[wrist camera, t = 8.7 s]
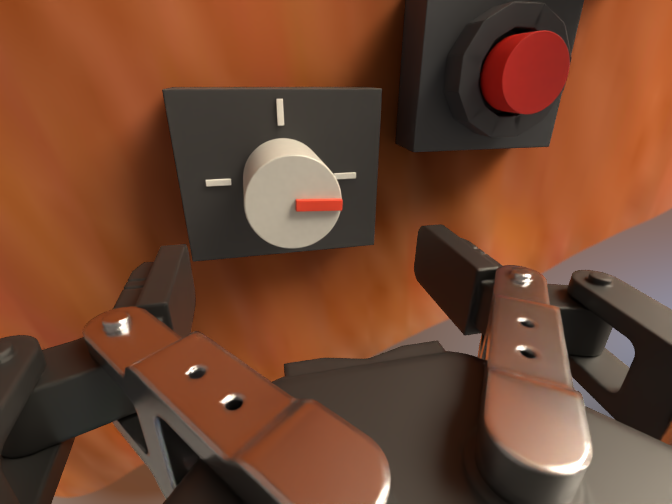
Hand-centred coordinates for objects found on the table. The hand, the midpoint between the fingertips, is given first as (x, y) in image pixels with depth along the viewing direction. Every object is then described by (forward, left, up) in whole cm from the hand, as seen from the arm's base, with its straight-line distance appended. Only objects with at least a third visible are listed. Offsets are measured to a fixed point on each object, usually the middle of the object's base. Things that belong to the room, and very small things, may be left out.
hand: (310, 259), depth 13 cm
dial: (0, 0, -11) cm, 11 cm away
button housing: (+12, +8, -14) cm, 20 cm away
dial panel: (0, 0, -14) cm, 14 cm away
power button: (+12, +8, -9) cm, 17 cm away
